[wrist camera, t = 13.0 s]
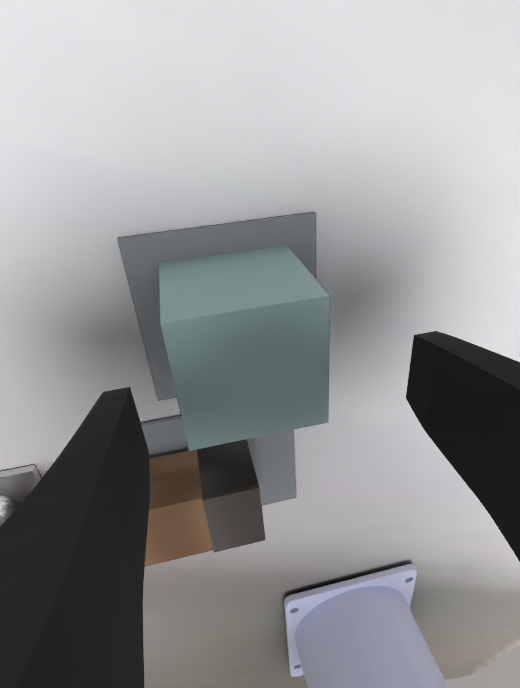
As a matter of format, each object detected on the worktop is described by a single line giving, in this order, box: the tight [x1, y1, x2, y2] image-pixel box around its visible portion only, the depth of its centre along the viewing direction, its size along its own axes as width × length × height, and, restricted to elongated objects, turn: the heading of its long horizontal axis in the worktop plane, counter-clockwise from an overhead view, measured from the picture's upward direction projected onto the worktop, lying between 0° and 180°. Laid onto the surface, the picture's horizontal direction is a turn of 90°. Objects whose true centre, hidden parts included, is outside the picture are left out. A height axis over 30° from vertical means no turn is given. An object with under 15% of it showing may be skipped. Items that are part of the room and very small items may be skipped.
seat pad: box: [118, 212, 316, 401], centre depth 14 cm, size 6×6×1 cm
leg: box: [144, 439, 265, 567], centre depth 15 cm, size 12×3×4 cm, turn 94°
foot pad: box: [141, 415, 296, 506], centre depth 18 cm, size 6×6×1 cm
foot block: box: [159, 245, 330, 451], centre depth 13 cm, size 4×4×4 cm
